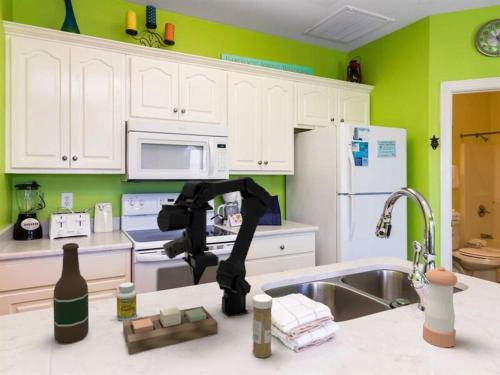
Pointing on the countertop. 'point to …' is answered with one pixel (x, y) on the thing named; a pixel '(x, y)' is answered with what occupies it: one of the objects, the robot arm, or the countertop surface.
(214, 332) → the wooden tray
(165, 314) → the cream key
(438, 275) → the pepper shaker
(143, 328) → the terracotta key
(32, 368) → the countertop surface
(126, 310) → the supplement bottle
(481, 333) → the countertop surface
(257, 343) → the sprinkles bottle
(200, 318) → the sage key
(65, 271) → the beer bottle
